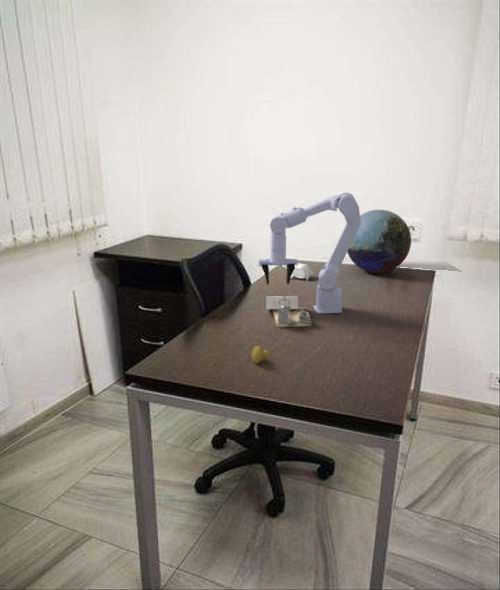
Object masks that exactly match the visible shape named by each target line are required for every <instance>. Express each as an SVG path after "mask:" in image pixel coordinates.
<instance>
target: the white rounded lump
mask: <svg viewBox="0 0 500 590" xmlns="http://www.w3.org/2000/svg"><path fill="white" fill-rule="evenodd" d="M286 259H290V258H289V257H286ZM281 267H282V268H283V269H285V270H286V271H287V265H281ZM313 274H314V272H313V271H312V270H311V268H310V266H309V264H306V263H299V262H298V265H295V269H294V271H293V273H292V275H291V278H290V280H291V279H292V278H293V277H295V278H298V279H303V280H305V281H306V282H308V280H309V278H310V279H311V278H313Z"/></svg>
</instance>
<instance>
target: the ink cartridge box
mask: <svg viewBox="0 0 500 590" xmlns="http://www.w3.org/2000/svg"><path fill="white" fill-rule="evenodd" d="M265 297H266V299H265V300H266V301H265V302H266V303H265V304H266V305H265V306H266V308H265V309H266V310H278V308H279V307H280V306H281V305H287V306H290V309H307V307H299V296H298V295H282V296H281V295H277V296H265Z"/></svg>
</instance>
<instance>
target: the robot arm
mask: <svg viewBox="0 0 500 590" xmlns="http://www.w3.org/2000/svg"><path fill="white" fill-rule="evenodd" d="M327 211H333V212H338V211H339V212H340V213H341V214H342V216H343V217H344V220H345V222H346V223H345V225H344V227H343V229H342V231H341V233H340V236H339V238H338V239H337V242H336V244H335V247H334V248H333V251H332V252H331V254H330V257H329V258H328V260H327V261H326V263H325V264H324V265H325V266H324V267H323V268H321V269H320V270H319V272H318V284H317V286H316V301H315V302H316V304H315V305H313V308H314V310H315V312H316V313H317V314H342V313H343V311H342V309H343V296H344V295H343V289H342V287H337V277H338V274H339V271H340V268H341V265H342V263H343V262H344V259H345V257H346V255H347V254H348V253H347V251H348V249H349V247H350V245H351V243H352V241H353V239H354V237H355V235H356V233H357V231H358V229H359V227H360V224H361V219H360V215H361V214H360V206H359V204H358V202H357V201H356V198H355V197H354V195H353V194H352V193H349V192H343V193H341V194H340V195H339V194H336V195H333V196H330V197H327V198H326V199H323V200H321V201H318V202H316V203H315V204H312V205H310V206H307V207H304V208H303V207H300V206H299V207H297V206H294V207H292V209H291V210H289V211H286V212H281V213H280V215H279V214H278V215H274V217H273V218H272V219H271V220H270V223H269V228H270V247H269V248H270V251H269V252H270V258H266V259H258V267H261V269H262V271H263V273H264V276H265V281H266V285H270V279H269V278H270V277H269V276H270V268H269V266H282V265H287V270H286V279H285V280H286V284H287V285H290V281H291V279H292V278H291V275H292V273H293V271H294V269H295V265H298V263H299V261H298V259H297V258H289V259H286V258H287V256H286V255H287V252H286V251H287V236H286V231H287V230H286V229H291V228H294V227H297V226H298V225H301V224H304V223H306V221H307V219H308V218H309V217H311V216H314V215H318V214H320V213H322V212H327ZM290 278H291V279H290Z"/></svg>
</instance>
